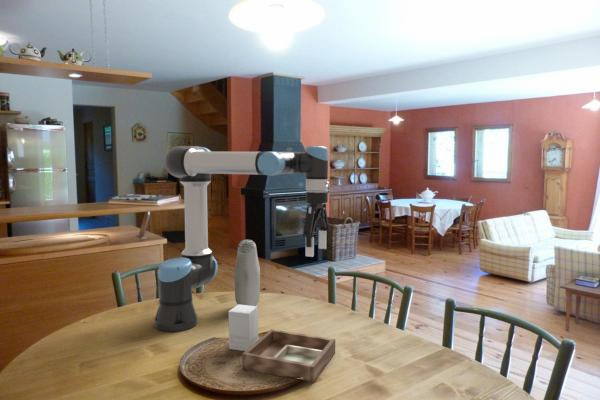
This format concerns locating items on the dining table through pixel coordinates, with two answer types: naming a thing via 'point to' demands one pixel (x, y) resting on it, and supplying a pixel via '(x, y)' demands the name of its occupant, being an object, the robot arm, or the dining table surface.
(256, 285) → the grey rounded cylinder
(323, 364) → the crate
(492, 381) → the dining table surface
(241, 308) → the supplement box
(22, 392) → the dining table surface
